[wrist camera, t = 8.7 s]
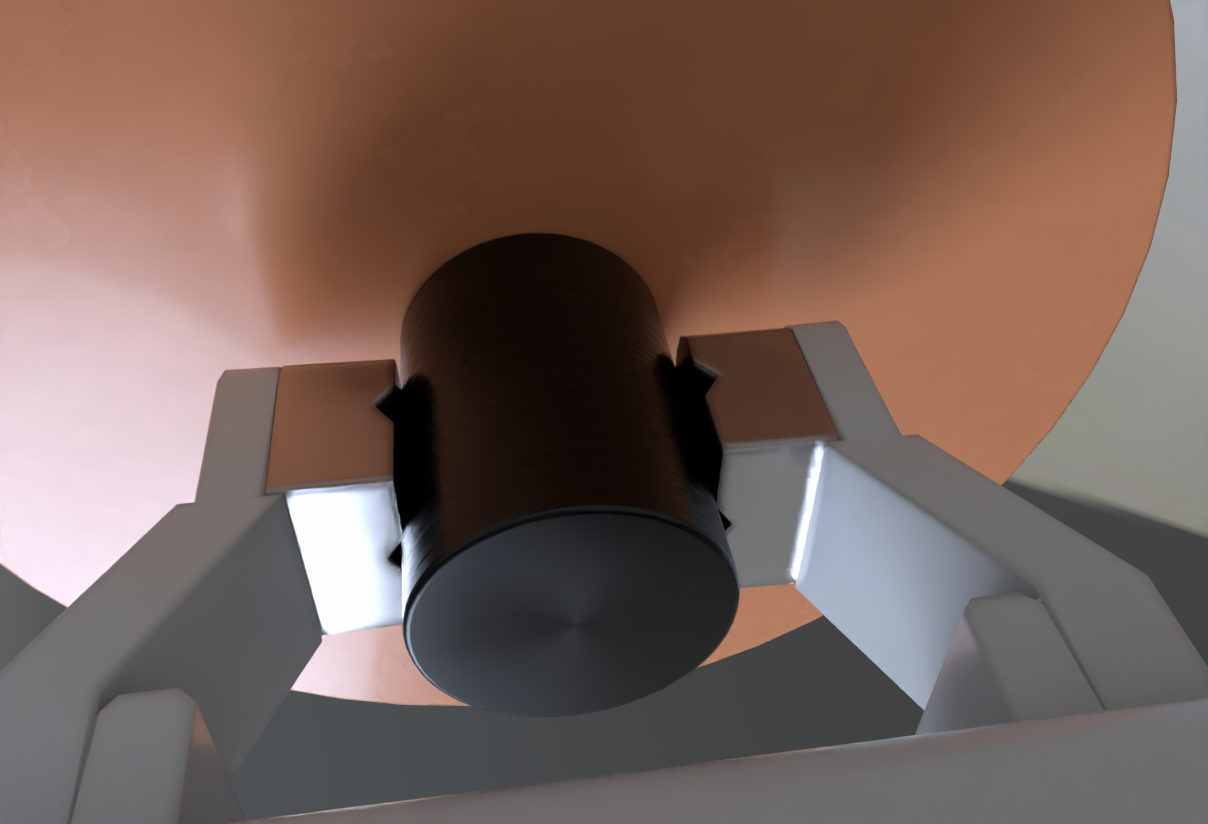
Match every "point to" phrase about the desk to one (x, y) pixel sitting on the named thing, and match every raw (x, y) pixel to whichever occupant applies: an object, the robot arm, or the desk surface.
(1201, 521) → the desk surface
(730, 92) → the pot lid
